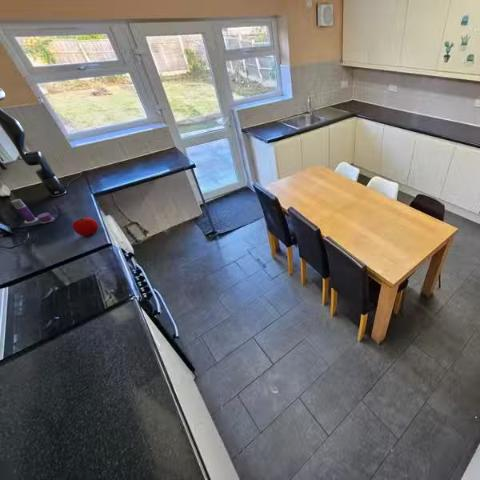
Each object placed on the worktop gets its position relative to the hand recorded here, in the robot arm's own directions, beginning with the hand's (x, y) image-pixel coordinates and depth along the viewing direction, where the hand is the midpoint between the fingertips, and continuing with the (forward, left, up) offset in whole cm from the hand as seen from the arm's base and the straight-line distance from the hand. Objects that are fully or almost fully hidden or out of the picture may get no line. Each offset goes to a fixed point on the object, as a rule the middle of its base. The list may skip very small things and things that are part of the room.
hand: (2, 172), depth 170 cm
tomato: (+45, +43, -31) cm, 69 cm away
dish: (+15, +12, -30) cm, 36 cm away
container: (+11, +2, -30) cm, 32 cm away
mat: (+13, +7, -31) cm, 34 cm away
